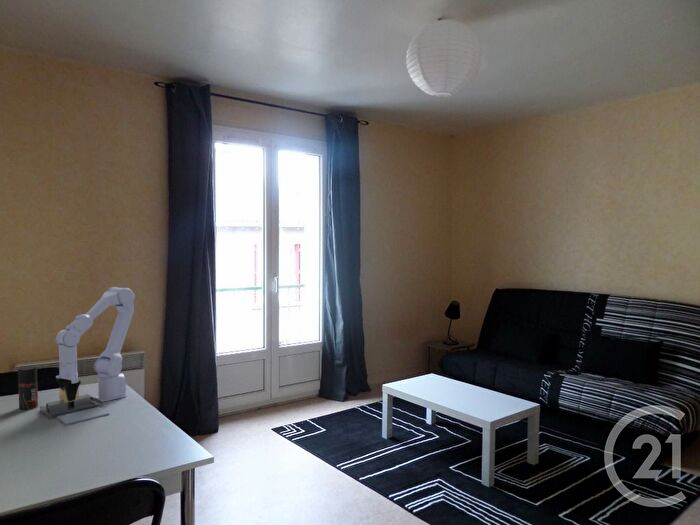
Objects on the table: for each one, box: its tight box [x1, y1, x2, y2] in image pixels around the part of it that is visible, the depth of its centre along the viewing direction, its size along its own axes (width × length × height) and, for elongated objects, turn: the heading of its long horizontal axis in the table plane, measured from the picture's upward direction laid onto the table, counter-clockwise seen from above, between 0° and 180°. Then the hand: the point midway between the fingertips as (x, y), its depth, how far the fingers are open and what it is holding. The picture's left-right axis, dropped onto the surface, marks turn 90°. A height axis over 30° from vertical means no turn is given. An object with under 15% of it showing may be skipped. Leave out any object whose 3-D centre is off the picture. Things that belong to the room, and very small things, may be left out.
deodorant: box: [17, 365, 39, 411], centre depth 183 cm, size 6×6×15 cm
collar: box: [58, 387, 80, 403], centre depth 181 cm, size 5×5×4 cm
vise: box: [39, 394, 99, 420], centre depth 181 cm, size 16×12×8 cm
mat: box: [56, 406, 110, 426], centre depth 174 cm, size 14×10×1 cm
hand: (69, 398), depth 181 cm, fingers closed on collar, 5 cm apart
